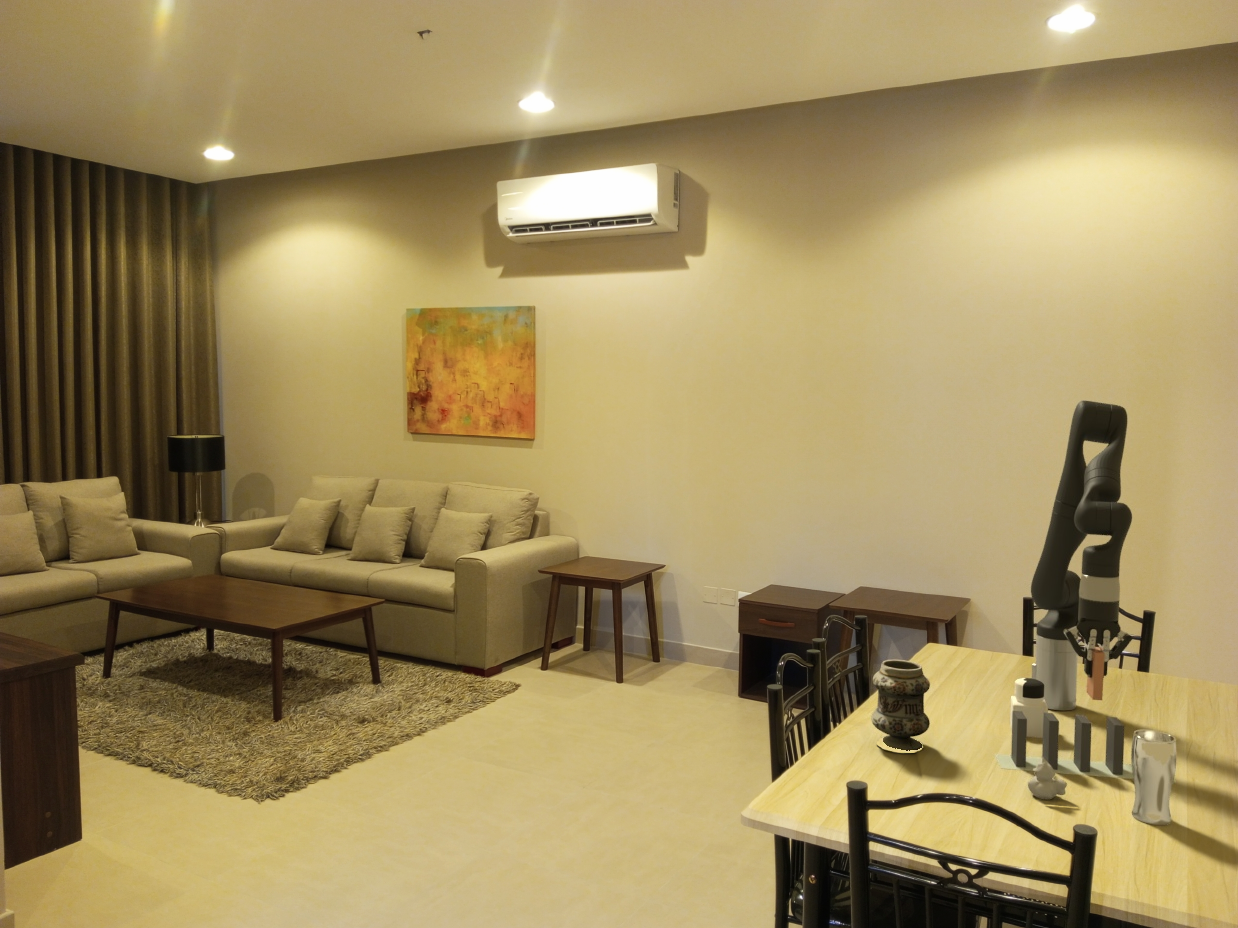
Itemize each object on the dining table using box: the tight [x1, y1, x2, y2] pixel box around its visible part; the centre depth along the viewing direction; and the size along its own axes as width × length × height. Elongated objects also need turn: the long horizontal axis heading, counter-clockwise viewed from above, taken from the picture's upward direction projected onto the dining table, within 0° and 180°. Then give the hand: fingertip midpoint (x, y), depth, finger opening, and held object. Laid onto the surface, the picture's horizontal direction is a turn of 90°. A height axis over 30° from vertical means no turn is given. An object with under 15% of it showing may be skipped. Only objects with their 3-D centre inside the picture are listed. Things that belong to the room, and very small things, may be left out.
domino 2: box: [1041, 712, 1060, 770], centre depth 188 cm, size 2×5×10 cm, turn 167°
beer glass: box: [1130, 728, 1177, 826], centre depth 165 cm, size 7×7×15 cm
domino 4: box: [1086, 646, 1105, 701], centre depth 195 cm, size 2×5×10 cm, turn 167°
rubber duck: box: [1027, 756, 1068, 801], centre depth 173 cm, size 5×7×8 cm
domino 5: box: [1104, 716, 1125, 775], centre depth 186 cm, size 2×5×10 cm, turn 168°
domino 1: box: [1010, 711, 1028, 768], centre depth 190 cm, size 2×5×10 cm, turn 168°
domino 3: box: [1073, 714, 1092, 773], centre depth 187 cm, size 2×5×10 cm, turn 167°
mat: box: [993, 753, 1177, 783], centre depth 187 cm, size 32×8×1 cm, turn 78°
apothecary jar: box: [870, 659, 931, 751], centre depth 199 cm, size 12×12×18 cm
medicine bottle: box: [1009, 677, 1049, 739], centre depth 208 cm, size 7×7×12 cm
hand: (1095, 676), depth 195 cm, fingers closed on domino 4, 1 cm apart
